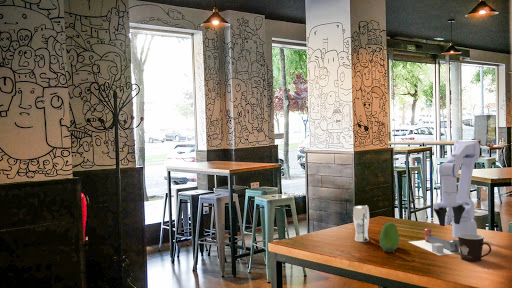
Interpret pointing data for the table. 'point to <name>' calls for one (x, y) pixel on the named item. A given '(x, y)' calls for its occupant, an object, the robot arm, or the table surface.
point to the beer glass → (361, 223)
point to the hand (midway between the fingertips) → (449, 224)
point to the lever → (442, 241)
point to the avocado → (389, 237)
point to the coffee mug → (471, 247)
